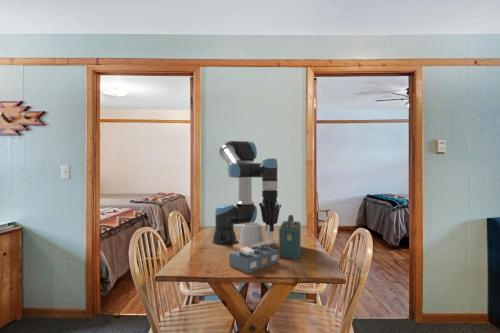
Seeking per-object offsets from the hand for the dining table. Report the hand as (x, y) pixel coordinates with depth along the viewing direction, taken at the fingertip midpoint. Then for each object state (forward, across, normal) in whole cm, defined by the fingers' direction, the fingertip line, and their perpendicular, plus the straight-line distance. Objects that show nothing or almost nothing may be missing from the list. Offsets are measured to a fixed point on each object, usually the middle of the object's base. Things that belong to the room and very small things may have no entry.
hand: (269, 237), depth 132 cm
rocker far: (+5, -4, 0) cm, 6 cm away
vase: (+12, -20, +7) cm, 25 cm away
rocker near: (+5, -4, -14) cm, 15 cm away
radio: (+13, -4, +22) cm, 26 cm away
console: (+12, -4, -7) cm, 15 cm away
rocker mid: (+5, -4, -7) cm, 9 cm away
